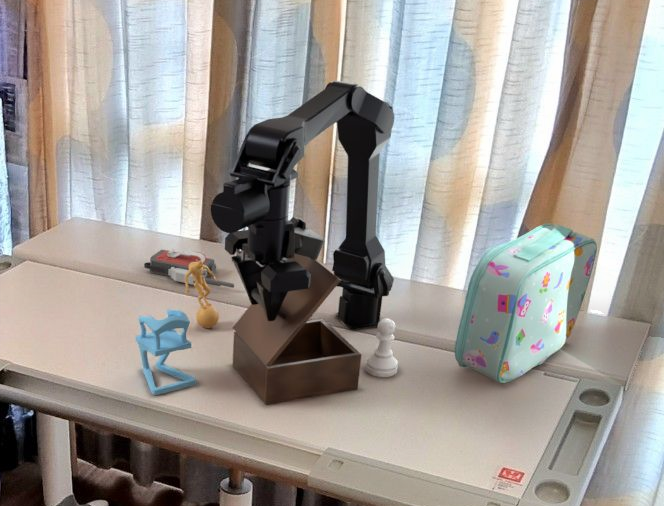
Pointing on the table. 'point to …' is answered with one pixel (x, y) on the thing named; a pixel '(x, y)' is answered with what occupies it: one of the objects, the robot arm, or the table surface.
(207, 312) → the figurine
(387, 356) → the chess pawn
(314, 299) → the lid
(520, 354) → the lunch box
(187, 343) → the chair
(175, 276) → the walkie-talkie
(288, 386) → the chest
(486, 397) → the table surface
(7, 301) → the table surface
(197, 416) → the table surface
